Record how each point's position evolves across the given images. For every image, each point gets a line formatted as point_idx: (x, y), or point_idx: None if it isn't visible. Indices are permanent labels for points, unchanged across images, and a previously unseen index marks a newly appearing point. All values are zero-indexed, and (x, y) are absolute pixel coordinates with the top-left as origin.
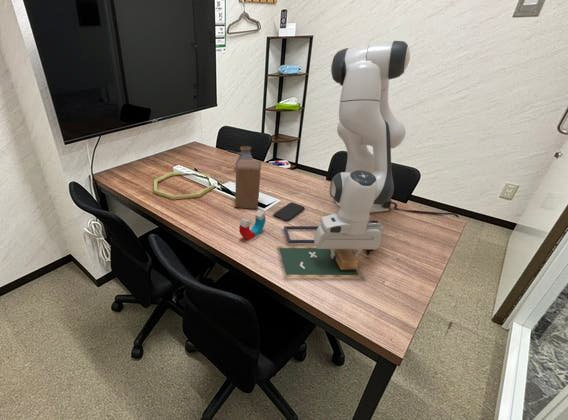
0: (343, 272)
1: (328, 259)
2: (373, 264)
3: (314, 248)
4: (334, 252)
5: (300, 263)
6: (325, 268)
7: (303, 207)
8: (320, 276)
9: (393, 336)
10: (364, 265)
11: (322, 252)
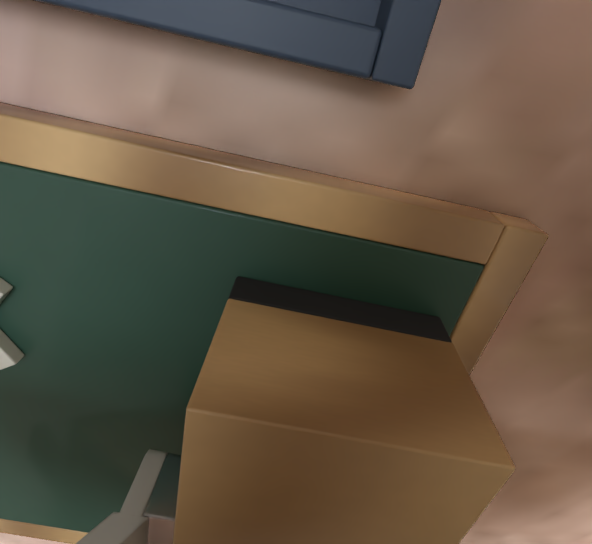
0: None
1: (154, 404)
2: (582, 482)
3: (17, 176)
4: (164, 527)
5: None
6: (81, 484)
7: None
8: (15, 533)
9: None
10: None
11: (120, 289)
